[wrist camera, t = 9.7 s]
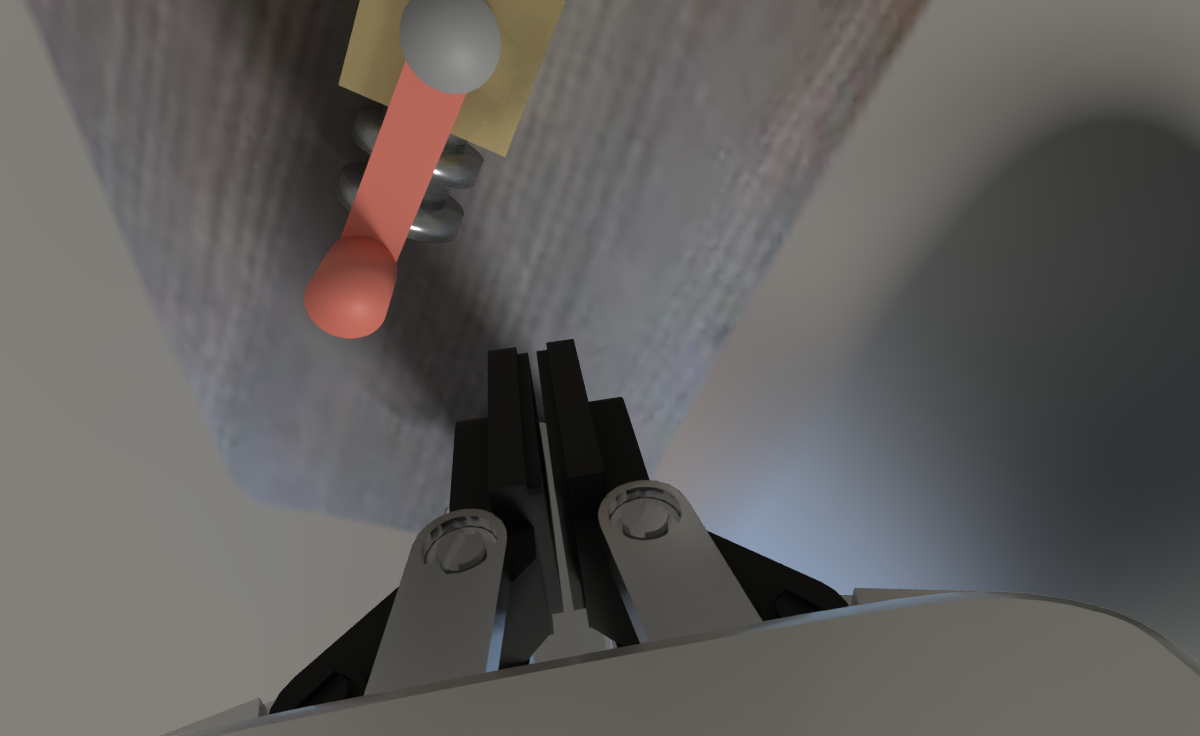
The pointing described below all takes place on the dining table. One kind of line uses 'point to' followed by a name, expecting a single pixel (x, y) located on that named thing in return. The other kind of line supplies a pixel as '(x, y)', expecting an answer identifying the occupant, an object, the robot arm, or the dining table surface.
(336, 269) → the lever
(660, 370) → the dining table surface
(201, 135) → the dining table surface
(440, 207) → the valve
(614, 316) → the dining table surface
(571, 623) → the water bottle
